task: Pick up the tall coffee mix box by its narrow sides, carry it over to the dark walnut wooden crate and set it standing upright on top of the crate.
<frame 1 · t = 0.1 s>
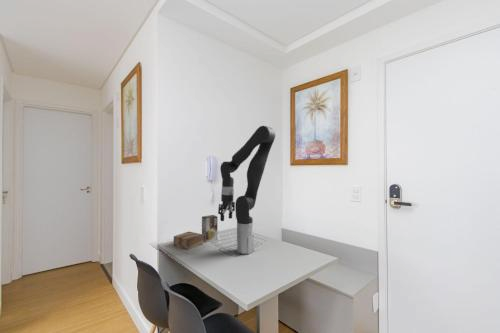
hand: (226, 219, 149), 17 cm above the table, tool pointing down, fingers open, 8 cm apart
walnut crate: (188, 244, 153), on the table
coffee box: (209, 240, 163), on the table
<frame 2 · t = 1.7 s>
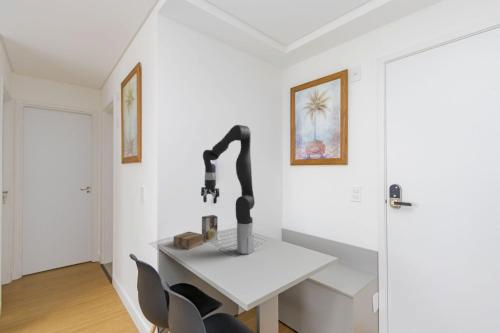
hand: (209, 202, 163), 25 cm above the table, tool pointing down, fingers open, 8 cm apart
nothing on the table moved.
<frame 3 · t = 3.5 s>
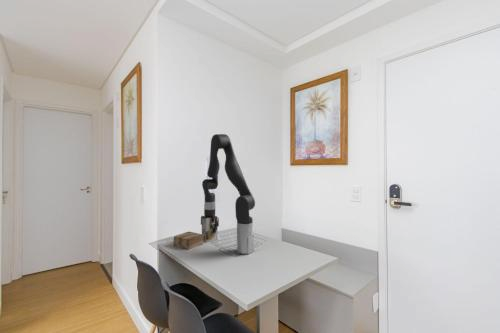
hand: (209, 232, 163), 5 cm above the table, tool pointing down, fingers closed on coffee box, 7 cm apart
coffee box: (209, 240, 163), on the table, touching gripper
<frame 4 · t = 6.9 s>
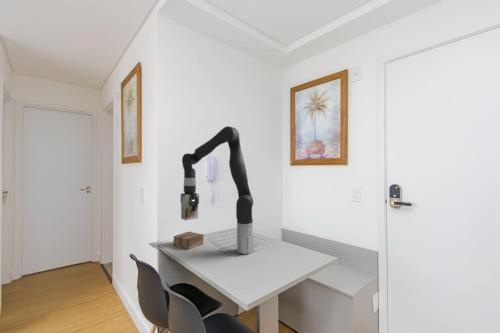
hand: (189, 210, 153), 22 cm above the table, tool pointing down, fingers closed on coffee box, 7 cm apart
coffee box: (189, 218, 153), point 16 cm above the table, touching gripper
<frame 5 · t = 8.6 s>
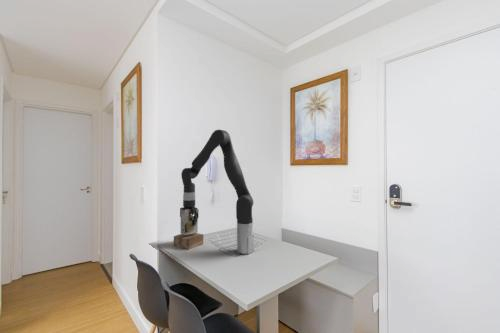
hand: (188, 224, 153), 13 cm above the table, tool pointing down, fingers closed on coffee box, 7 cm apart
coffee box: (188, 233, 153), point 7 cm above the table, touching gripper
when the fingers open (12 cm above the table, at t = 9.8 s): coffee box drops 1 cm, resting on walnut crate.
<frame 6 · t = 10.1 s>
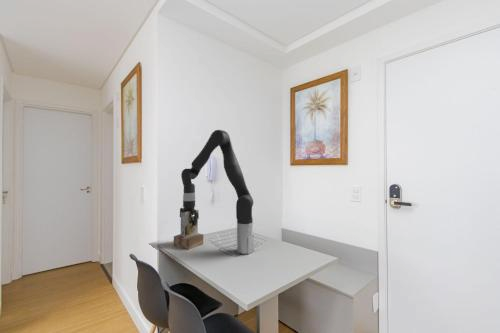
hand: (188, 225, 153), 13 cm above the table, tool pointing down, fingers open, 8 cm apart
coffee box: (189, 235, 153), point 6 cm above the table, touching walnut crate
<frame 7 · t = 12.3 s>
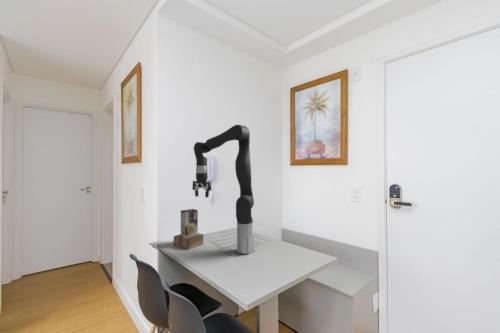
hand: (201, 196, 159), 30 cm above the table, tool pointing down, fingers open, 8 cm apart
nothing on the table moved.
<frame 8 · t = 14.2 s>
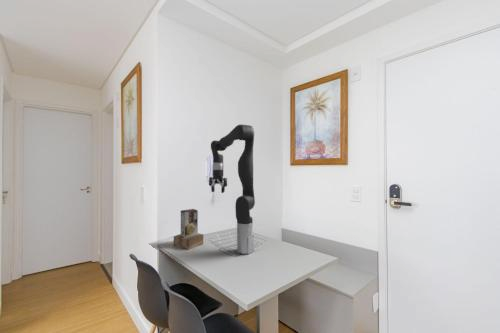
hand: (217, 192, 168), 32 cm above the table, tool pointing down, fingers open, 8 cm apart
nothing on the table moved.
at the end: coffee box inside the target area on the walnut crate (0.2 cm from its centre), point 5.8 cm above the walnut crate's base; coffee box tilted 0°; the gripper is holding nothing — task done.
